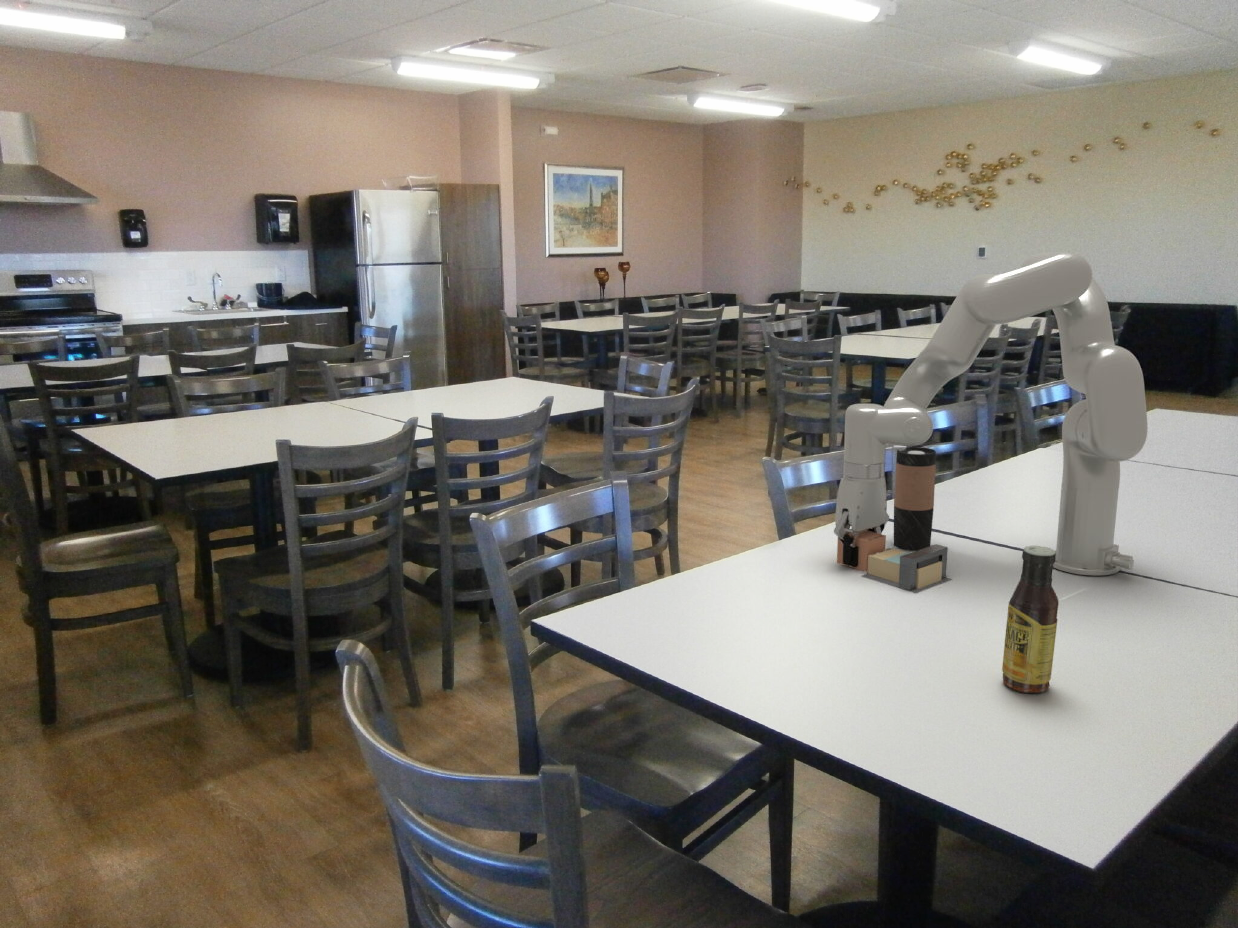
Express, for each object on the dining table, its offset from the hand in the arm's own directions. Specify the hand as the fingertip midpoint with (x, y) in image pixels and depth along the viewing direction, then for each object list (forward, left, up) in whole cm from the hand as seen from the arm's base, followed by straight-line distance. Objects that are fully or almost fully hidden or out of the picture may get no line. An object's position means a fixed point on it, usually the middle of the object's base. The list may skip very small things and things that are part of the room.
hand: (860, 560), depth 181 cm
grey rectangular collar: (-14, 0, -1) cm, 14 cm away
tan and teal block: (-10, 0, -1) cm, 10 cm away
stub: (0, 0, -1) cm, 1 cm away
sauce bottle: (-47, +24, -1) cm, 53 cm away
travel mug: (+1, -17, -1) cm, 17 cm away
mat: (-10, 0, -1) cm, 10 cm away
